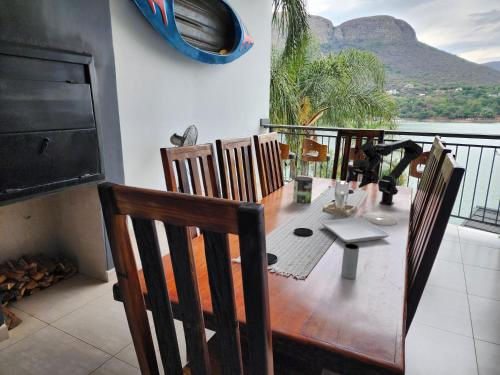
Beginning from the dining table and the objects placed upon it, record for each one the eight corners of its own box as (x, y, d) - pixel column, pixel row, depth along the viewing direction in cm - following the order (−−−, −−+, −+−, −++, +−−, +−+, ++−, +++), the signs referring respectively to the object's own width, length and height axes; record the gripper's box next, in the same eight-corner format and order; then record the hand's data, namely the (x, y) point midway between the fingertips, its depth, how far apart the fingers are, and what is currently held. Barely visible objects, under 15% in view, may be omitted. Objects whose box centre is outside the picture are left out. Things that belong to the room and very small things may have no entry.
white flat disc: (368, 211, 163) (368, 210, 163) (400, 218, 153) (401, 217, 153) (356, 219, 151) (356, 218, 151) (391, 227, 141) (391, 226, 141)
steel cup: (347, 213, 160) (350, 184, 157) (333, 212, 162) (335, 183, 158) (346, 208, 167) (348, 181, 163) (332, 207, 168) (334, 180, 164)
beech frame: (333, 205, 173) (333, 201, 173) (356, 210, 165) (357, 206, 165) (322, 210, 163) (323, 207, 163) (347, 216, 155) (347, 212, 155)
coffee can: (315, 203, 176) (316, 178, 173) (303, 206, 170) (304, 181, 166) (300, 198, 184) (302, 175, 180) (288, 202, 177) (290, 177, 174)
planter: (339, 272, 103) (341, 243, 100) (352, 271, 103) (355, 242, 100) (344, 279, 98) (347, 249, 96) (358, 279, 99) (361, 249, 96)
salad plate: (344, 247, 122) (345, 239, 121) (318, 227, 142) (319, 220, 141) (390, 242, 127) (391, 234, 126) (359, 223, 147) (360, 216, 146)
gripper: (351, 150, 170) (333, 172, 168) (377, 155, 154) (357, 179, 152) (360, 164, 175) (343, 185, 174) (387, 170, 159) (368, 193, 157)
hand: (352, 185), depth 164 cm, fingers open, 9 cm apart
